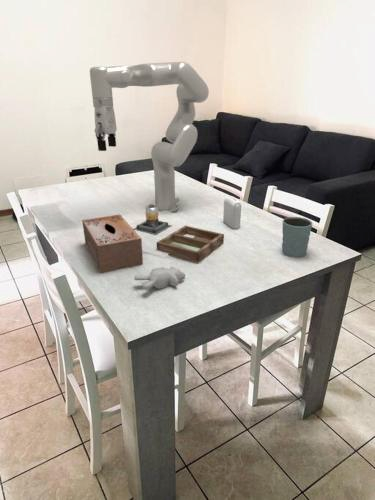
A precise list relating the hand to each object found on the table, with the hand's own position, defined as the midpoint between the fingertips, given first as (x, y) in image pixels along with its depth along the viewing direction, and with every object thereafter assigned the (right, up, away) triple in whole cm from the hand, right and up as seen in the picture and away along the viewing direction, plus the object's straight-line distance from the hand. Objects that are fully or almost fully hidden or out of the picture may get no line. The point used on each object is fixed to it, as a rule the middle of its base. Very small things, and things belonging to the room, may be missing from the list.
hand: (107, 148), depth 147 cm
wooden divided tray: (+34, -40, -10) cm, 53 cm away
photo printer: (+51, -30, +11) cm, 61 cm away
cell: (+18, -31, +6) cm, 37 cm away
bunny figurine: (+24, -52, -34) cm, 67 cm away
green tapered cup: (+71, -42, -14) cm, 84 cm away
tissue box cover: (+5, -43, -14) cm, 45 cm away
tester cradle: (+18, -32, +6) cm, 37 cm away
